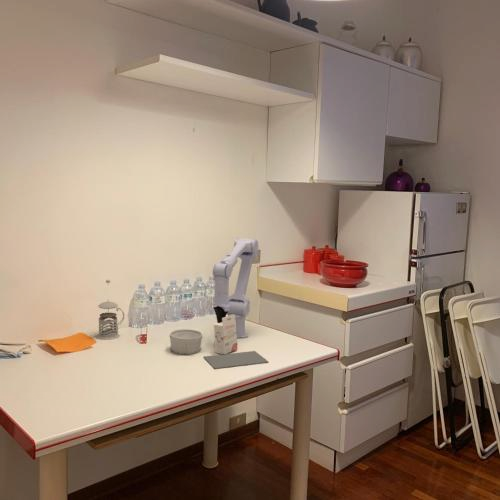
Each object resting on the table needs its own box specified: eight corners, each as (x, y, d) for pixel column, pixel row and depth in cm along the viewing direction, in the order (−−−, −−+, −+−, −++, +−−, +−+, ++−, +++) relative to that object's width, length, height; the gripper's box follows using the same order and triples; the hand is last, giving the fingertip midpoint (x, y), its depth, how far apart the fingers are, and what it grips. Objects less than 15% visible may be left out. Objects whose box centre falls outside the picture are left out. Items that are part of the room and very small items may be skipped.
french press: (94, 334, 221) (94, 278, 218) (121, 331, 226) (121, 276, 223) (98, 340, 212) (97, 282, 209) (126, 338, 217) (126, 281, 214)
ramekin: (204, 346, 211) (205, 330, 210) (198, 356, 198) (199, 339, 197) (173, 344, 212) (174, 328, 211) (165, 354, 199) (165, 337, 198)
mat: (203, 357, 197) (203, 356, 197) (254, 351, 206) (254, 350, 206) (214, 369, 185) (214, 368, 185) (268, 362, 194) (268, 361, 194)
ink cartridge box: (228, 347, 209) (226, 312, 208) (237, 349, 206) (236, 313, 205) (214, 353, 203) (213, 316, 202) (224, 354, 200) (222, 317, 199)
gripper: (206, 288, 213) (205, 320, 215) (218, 296, 200) (217, 329, 202) (222, 288, 216) (221, 319, 218) (234, 295, 203) (233, 328, 205)
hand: (220, 324), depth 210 cm, fingers closed
